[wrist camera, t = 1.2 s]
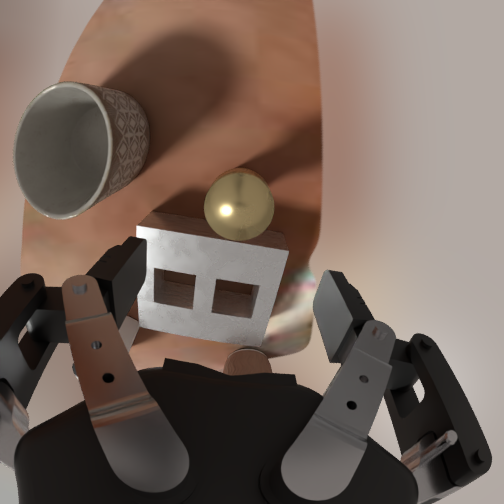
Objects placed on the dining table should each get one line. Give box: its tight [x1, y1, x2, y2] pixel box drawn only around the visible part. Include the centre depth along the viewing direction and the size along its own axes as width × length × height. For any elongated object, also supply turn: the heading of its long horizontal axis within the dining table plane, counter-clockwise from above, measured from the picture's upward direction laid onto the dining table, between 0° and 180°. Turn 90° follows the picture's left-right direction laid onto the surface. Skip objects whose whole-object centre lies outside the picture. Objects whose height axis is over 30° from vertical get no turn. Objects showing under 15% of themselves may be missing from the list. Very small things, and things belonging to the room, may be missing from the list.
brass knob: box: [204, 167, 274, 241], centre depth 25 cm, size 5×5×10 cm
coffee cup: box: [223, 349, 272, 375], centre depth 37 cm, size 10×10×12 cm
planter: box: [13, 82, 150, 219], centre depth 22 cm, size 13×13×10 cm
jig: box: [137, 211, 289, 347], centre depth 32 cm, size 14×16×5 cm
